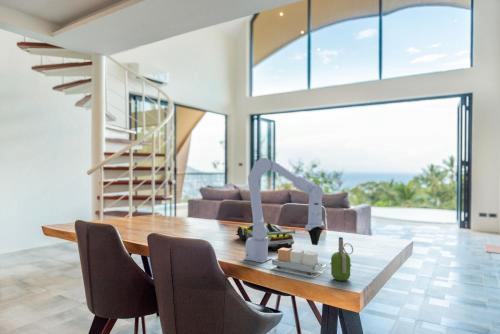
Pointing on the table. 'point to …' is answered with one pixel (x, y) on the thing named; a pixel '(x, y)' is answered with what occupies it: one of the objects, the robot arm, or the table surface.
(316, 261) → the part
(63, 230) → the table surface
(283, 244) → the racing car
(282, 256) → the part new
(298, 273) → the track
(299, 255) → the part
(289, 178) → the robot arm
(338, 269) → the grenade
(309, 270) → the beam with t-bracket
